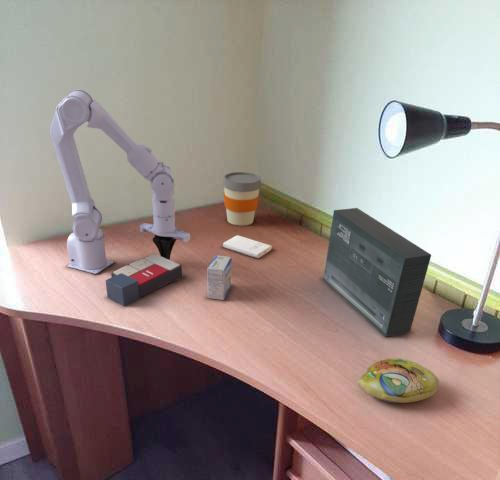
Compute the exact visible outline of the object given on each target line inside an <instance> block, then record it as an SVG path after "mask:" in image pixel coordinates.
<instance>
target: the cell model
mask: <svg viewBox="0 0 500 480" xmlns="http://www.w3.org/2000/svg"><path fill="white" fill-rule="evenodd" d="M357 382H358V385H359V387H360V388H361V389H362V390H364V392H365V393H366V394H368V395H369V396H372V397H373V398H376V399H378V400H381V401H383V402H388V403H397V404H399V403H401V404H404V403H405V404H406V403H415V402H419V401H422V400H425V399H428V398H431V397H433V396H434V395H435V394H436V393H437V392H438V390H439V386H440V385H439V384H440V382H439V379H438V377H437V376H436V374H435V373H434V372H433V371H431V370H430V369H429V368H427V367H425V366H423V365H421V364H419V363H417V362H414V361H412V360H409V359H404V358H396V357H392V358H391V357H390V358H385V359H380V360H377V361H375V362H373V363H372V364H371V365H369V367H368V368H367V370H366V371H364V373H363V374H362V375H361V376H360V378H359V379H358V381H357Z"/></svg>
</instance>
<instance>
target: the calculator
mask: <svg viewBox="0 0 500 480" xmlns="http://www.w3.org/2000/svg"><path fill="white" fill-rule="evenodd" d="M121 273H122V274H124V275H127V276H129V277H131V278H133V279H135V280H137V281H138V287H139V299H140V298H143V297H145V296H146V295H148V294H151V293H152V292H154V291H156V290H158V289H160V288H162V287H164V286H165V285H167V284H169V283H175V282H177V281H179V280H180V279H182V278H183V265H181V264H180V263H177V262H175V261H172V260H171V259H170V260H168V259H166V258H164V257H161V256H160V254H157V253H155V252H154V253H151V254H149V255H147V256H145V257H142V258H139V259H137V260H135V261H132V262H130V263H129V264H126V265H124V266H122V267H120V268H118V269H116V270H114V271H113V272H112V273H111V274H110V275H111V278H112V277H114V276H116V275H118V274H121Z"/></svg>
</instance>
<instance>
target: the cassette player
mask: <svg viewBox="0 0 500 480" xmlns="http://www.w3.org/2000/svg"><path fill="white" fill-rule="evenodd" d="M327 247H328V248H327V253H326V258H325V259H326V261H325V266H324V273H323V281H324V282H325V283H327V284H328V285H329V286H330V287H331V288H332V289H333V290H334V291H335V292H336V293H337V294H338V295H339V296H341V297H342V299H344V300H345V301H346V302H347V303H348V304H349V305H350V306H351V307H353V309H354V310H356V311H357V312H358V313H359V314H360V315H361V316H362V317H363V318H364V319H365V320H367V322H369V323H370V324H371V325H372V326H373V327H374V328H375V329H377V331H378V332H379V333H381V334H382V335H383V336H384V337H385V338H388V337H392V336H399V335H403V334H406V333H407V334H408V333H411V329H412V326H413V323H414V319H415V316H416V311H417V309H418V306H419V305H418V304H419V301H420V297H421V295H422V290H423V286H424V283H425V279H426V275H427V273H428V268H429V265H430V261H431V259H432V254H431V253H430V252H428V251H426V250H425V249H423V248H421V247H420V246H418V245H417V244H415V243H414V242H412V241H411V240H409V239H407V238H406V237H404V236H403V235H401V234H399V233H398V232H396V231H394V230H393V229H391V228H390V227H388V226H387V225H385V224H383V223H382V222H380V220H379V221H378V220H377V219H376V218H374V217H373V216H371V215H369V214H368V213H366V212H365V211H363V210H361V209H360V208H358V207H353V208H342V209H341V208H340V209H333V213H332V220H331V227H330V233H329V240H328V246H327Z"/></svg>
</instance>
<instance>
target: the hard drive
mask: <svg viewBox="0 0 500 480" xmlns="http://www.w3.org/2000/svg"><path fill="white" fill-rule="evenodd" d="M222 247H223V248H225V249H226V250H227V249H228V250H229V251H230V250H231V251H233V252H238V253H240V254H243V255H246V256H249V257H252V258H256V259H259V258H261V257H262V256H264V255H266V254H267V253H269V252H270V251H272V248H273V247H272V245H270V244H267V243H264V242H261V241H257V240H254V239H251V238H248V237H244V236H241V235H239V234H236V235H235V236H233V237H232V238H229V239H228V240H225V241H224V242H223V243H222Z"/></svg>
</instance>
